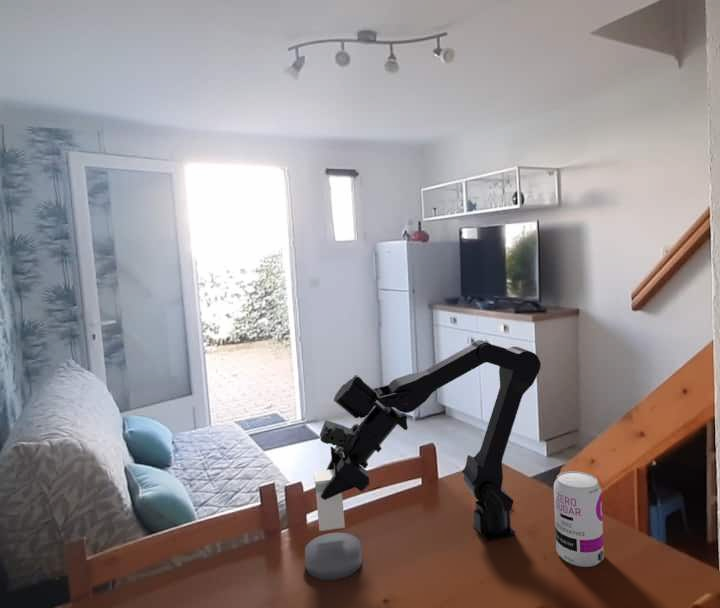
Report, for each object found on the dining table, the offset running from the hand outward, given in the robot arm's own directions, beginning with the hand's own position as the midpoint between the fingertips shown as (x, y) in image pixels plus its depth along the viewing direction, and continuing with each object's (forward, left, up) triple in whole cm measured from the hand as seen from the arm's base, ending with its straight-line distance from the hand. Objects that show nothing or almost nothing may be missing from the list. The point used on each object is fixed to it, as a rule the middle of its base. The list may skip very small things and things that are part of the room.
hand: (321, 492), depth 102 cm
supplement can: (-45, +19, -13) cm, 50 cm away
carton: (-1, 0, -7) cm, 7 cm away
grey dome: (-1, +3, -13) cm, 13 cm away
